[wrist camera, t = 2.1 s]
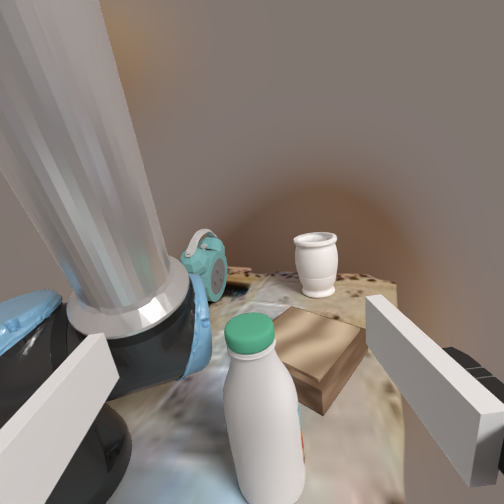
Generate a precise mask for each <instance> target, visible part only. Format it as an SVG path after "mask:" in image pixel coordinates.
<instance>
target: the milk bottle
mask: <svg viewBox="0 0 504 504" xmlns="http://www.w3.org/2000/svg"><path fill="white" fill-rule="evenodd" d="M224 334H225V340H226V344H227V350H228V352H229V354H230V355H231V362H230V367H229V370H228V373H227V376H226V380H225V383H224V389H223V409H224V415H225V421H226V426H227V431H228V436H229V441H230V446H231V451H232V456H233V460H234V465H235V469H236V474H237V479H238V482H239V486H240V489H241V492H242V494H243V496H244V498H245V499H246V500H247V502H248V503H249V504H294V503H295V502H296V501H297V500H298V498H299V497H300V495H301V493H302V491H303V489H304V485H305V480H306V469H305V457H304V448H303V438H302V429H301V420H300V411H299V404H298V398H297V392H296V388H295V385H294V382H293V379H292V377H291V375H290V373H289V371H288V370H287V368H286V367H285V365H284V364H283V363H282V362H281V360H280V359H279V357H278V355H277V353H276V351H275V349H274V347H275V344H276V339H275V331H274V325H273V322H272V320H271V319H270V318H269V317H268V316H267V315H264V314H261V313H245V314H241V315H238V316H236V317H234V318H233V319H231V320H230V321H229V322H228V323H227V324H226V326H225V331H224Z"/></svg>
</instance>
